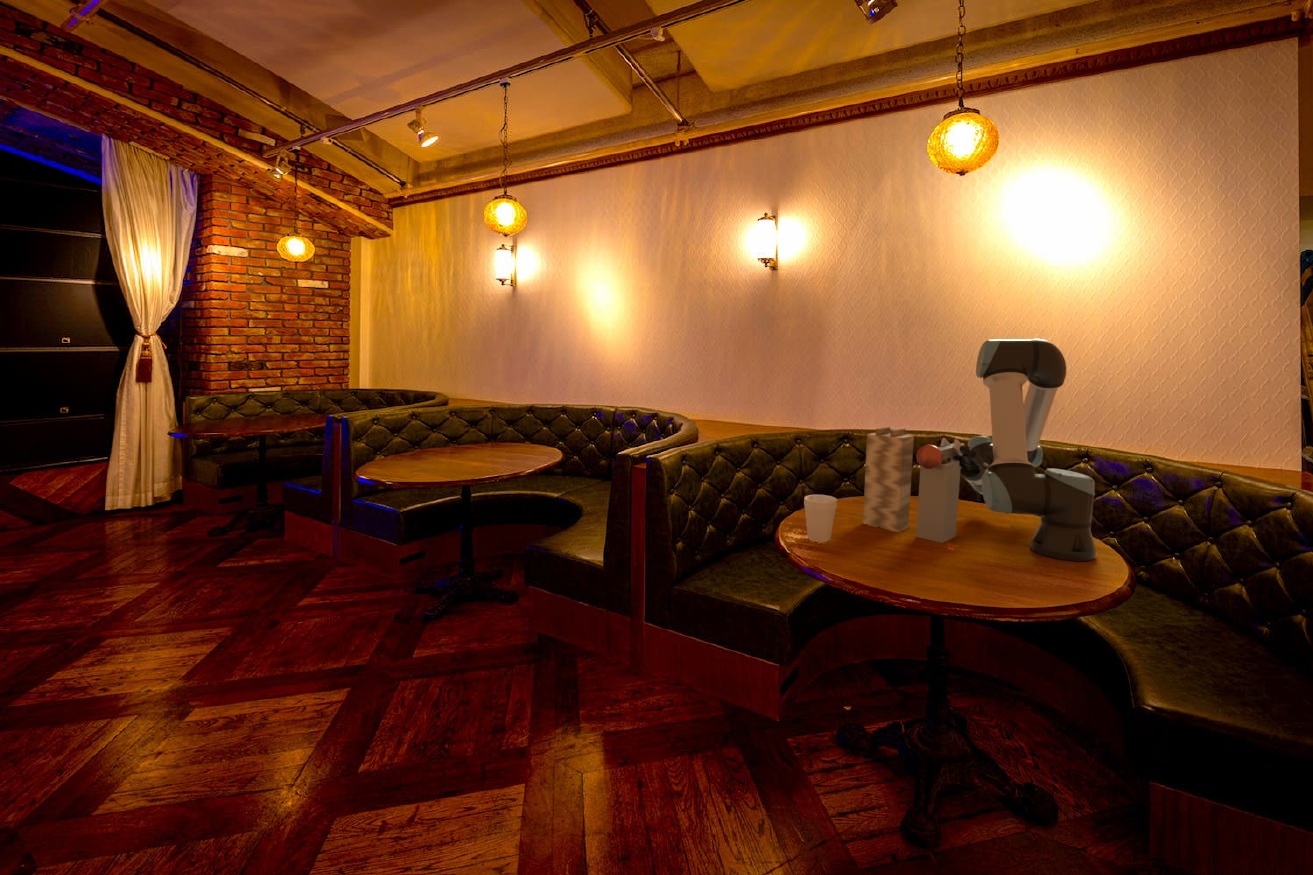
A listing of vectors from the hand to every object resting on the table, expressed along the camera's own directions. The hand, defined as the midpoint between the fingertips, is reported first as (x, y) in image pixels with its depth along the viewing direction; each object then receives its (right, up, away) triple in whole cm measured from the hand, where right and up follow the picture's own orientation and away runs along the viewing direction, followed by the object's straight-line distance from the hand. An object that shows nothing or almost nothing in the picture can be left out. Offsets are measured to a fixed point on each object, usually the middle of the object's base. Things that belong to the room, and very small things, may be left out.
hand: (948, 442), depth 182 cm
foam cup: (-40, -30, -1) cm, 50 cm away
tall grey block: (-3, -29, +1) cm, 29 cm away
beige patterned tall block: (-15, -27, +12) cm, 33 cm away
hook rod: (-2, -6, -1) cm, 7 cm away
